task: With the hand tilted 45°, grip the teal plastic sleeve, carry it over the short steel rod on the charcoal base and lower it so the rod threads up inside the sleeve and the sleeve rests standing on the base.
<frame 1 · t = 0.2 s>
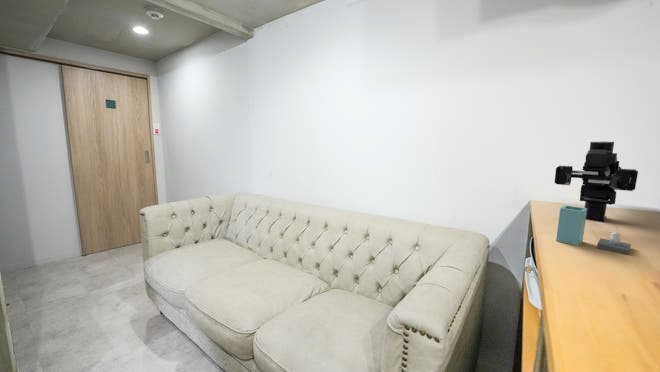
hand: (588, 182, 83), 17 cm above the table, tool horizontal, fingers open, 9 cm apart
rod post: (613, 248, 76), on the table
teal sleeve: (569, 241, 81), on the table
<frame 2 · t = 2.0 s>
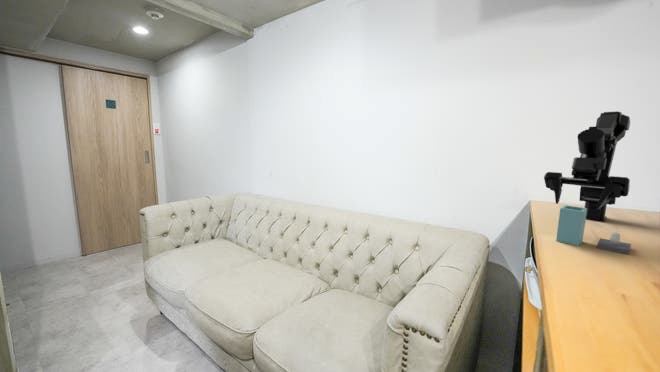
hand: (576, 205, 81), 10 cm above the table, tool tilted 45°, fingers open, 9 cm apart
nothing on the table moved.
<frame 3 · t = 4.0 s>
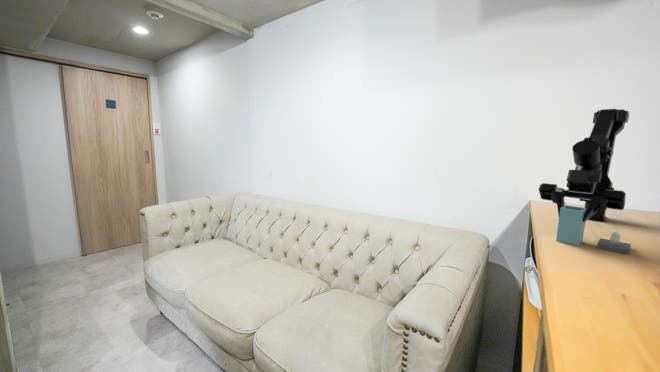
hand: (571, 219, 79), 7 cm above the table, tool tilted 45°, fingers closed on teal sleeve, 5 cm apart
teal sleeve: (569, 241, 81), on the table, touching gripper
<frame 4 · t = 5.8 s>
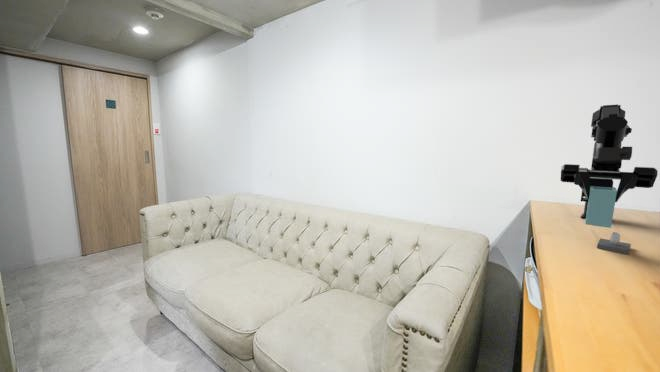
hand: (601, 199, 74), 13 cm above the table, tool tilted 45°, fingers closed on teal sleeve, 5 cm apart
teal sleeve: (597, 223, 77), point 6 cm above the table, touching gripper
when the fingers open (9 cm above the table, at t = 8.0 s): teal sleeve stays where it is, resting on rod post.
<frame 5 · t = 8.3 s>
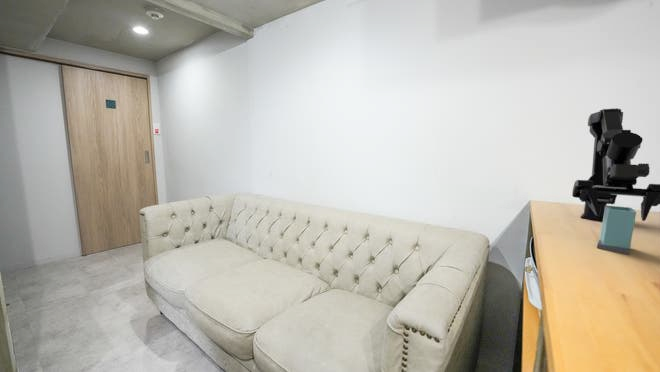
hand: (619, 217, 73), 9 cm above the table, tool tilted 45°, fingers open, 8 cm apart
teal sleeve: (614, 243, 76), point 1 cm above the table, touching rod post
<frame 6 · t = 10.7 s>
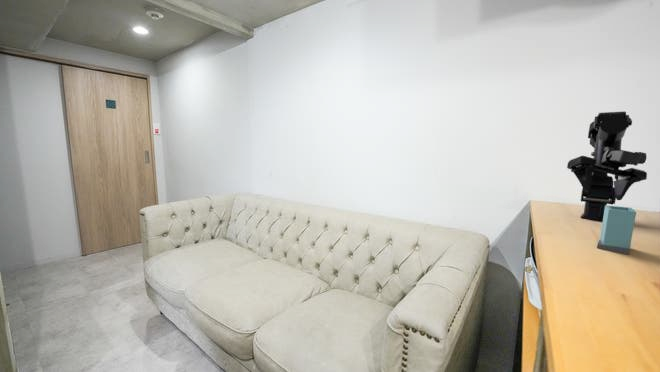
hand: (602, 195, 84), 12 cm above the table, tool tilted 30°, fingers open, 9 cm apart
nothing on the table moved.
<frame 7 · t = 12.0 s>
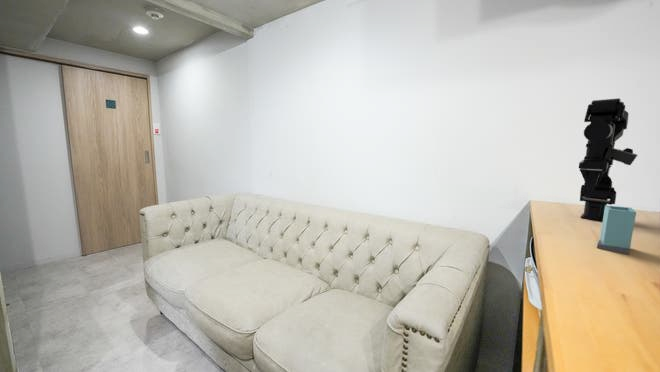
hand: (593, 188, 90), 13 cm above the table, tool pointing down, fingers open, 9 cm apart
nothing on the table moved.
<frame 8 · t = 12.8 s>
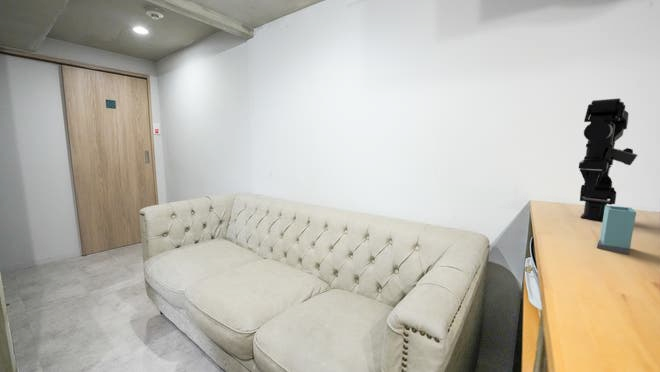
hand: (593, 188, 90), 13 cm above the table, tool pointing down, fingers open, 9 cm apart
nothing on the table moved.
at the end: teal sleeve 0.0 cm from the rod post (horizontally); teal sleeve point 1.2 cm above the table; teal sleeve tilted 0° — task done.
